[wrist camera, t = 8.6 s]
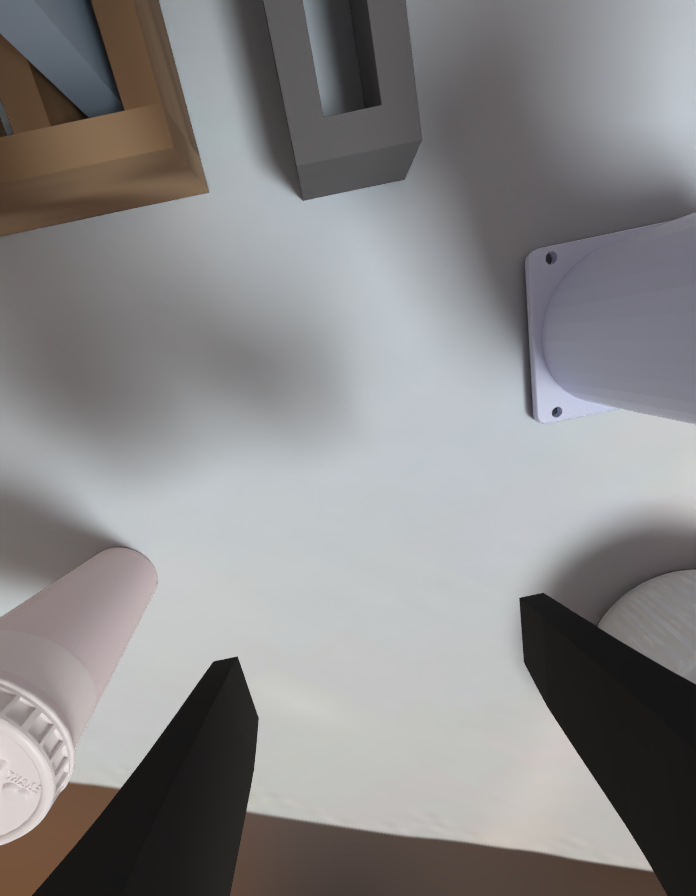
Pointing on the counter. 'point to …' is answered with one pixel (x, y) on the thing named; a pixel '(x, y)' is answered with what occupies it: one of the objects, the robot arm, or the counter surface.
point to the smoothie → (61, 675)
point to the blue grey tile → (64, 49)
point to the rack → (97, 131)
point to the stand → (357, 132)
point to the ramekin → (659, 621)
